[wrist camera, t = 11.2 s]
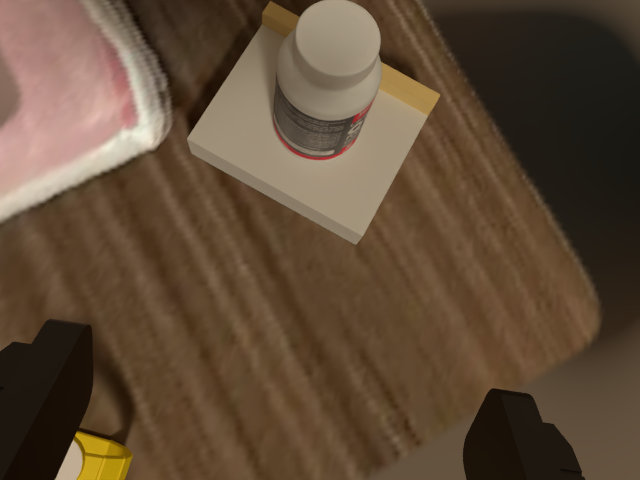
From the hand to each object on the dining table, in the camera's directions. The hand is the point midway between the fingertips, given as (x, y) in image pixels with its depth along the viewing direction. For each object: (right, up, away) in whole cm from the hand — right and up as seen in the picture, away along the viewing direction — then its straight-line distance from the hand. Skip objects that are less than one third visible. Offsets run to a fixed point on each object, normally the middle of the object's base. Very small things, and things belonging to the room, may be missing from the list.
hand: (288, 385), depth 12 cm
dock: (0, +10, +27) cm, 28 cm away
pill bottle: (0, +10, +25) cm, 26 cm away
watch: (-13, -9, +22) cm, 26 cm away
